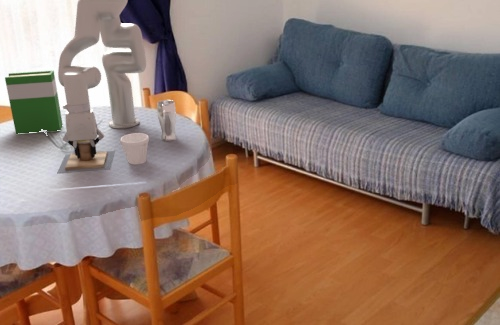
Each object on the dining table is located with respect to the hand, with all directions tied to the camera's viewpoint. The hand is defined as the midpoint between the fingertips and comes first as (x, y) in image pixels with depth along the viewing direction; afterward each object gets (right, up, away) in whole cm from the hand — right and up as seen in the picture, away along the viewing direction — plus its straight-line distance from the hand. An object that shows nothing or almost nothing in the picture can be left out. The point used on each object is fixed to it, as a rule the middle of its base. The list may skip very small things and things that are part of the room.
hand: (86, 156), depth 205 cm
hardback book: (-30, +11, +37) cm, 49 cm away
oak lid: (0, -2, +1) cm, 2 cm away
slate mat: (0, -2, +1) cm, 3 cm away
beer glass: (+26, +7, +21) cm, 35 cm away
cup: (+18, -2, 0) cm, 18 cm away
